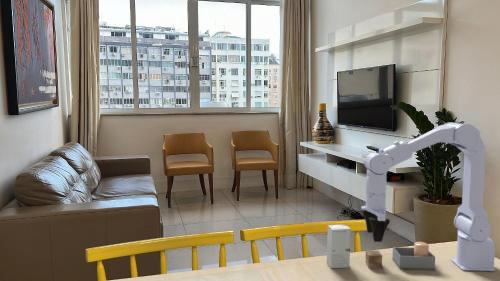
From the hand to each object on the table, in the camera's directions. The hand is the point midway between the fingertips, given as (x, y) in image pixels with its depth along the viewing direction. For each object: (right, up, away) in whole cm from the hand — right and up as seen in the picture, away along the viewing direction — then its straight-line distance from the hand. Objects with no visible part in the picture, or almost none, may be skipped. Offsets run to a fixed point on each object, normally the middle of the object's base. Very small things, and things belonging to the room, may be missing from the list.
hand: (374, 236), depth 115 cm
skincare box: (-11, -9, +1) cm, 14 cm away
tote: (+12, -9, +1) cm, 15 cm away
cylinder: (+15, -8, +1) cm, 17 cm away
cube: (0, -9, +1) cm, 9 cm away
